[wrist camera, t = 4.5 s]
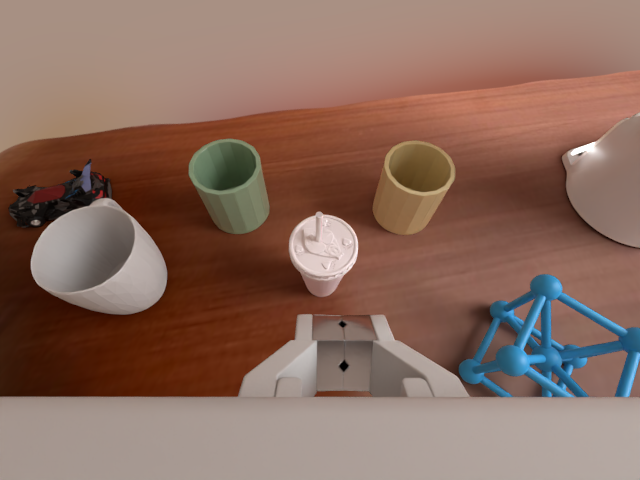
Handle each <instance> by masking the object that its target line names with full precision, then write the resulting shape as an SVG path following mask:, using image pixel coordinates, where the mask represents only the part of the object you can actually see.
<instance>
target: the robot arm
mask: <svg viewBox="0 0 640 480" xmlns="http://www.w3.org/2000/svg"><path fill="white" fill-rule="evenodd" d="M562 161H563V164H564V166H565V169H566V171H567V179H566V190H567V194H568V197H569V199H570V202H571V203H572V205H573V207H574V208H575V210H576V211H577V212H578V214H579V215H580V216H581V217H582V218H583V219H584V220H585V221H586V222H587V223H588V224H589V225H590V226H592V227H593V228H594V229H596V230H597V231H598V232H600V233H602V234H603V235H605V236H607V237H609V238H611V239H613V240H615V241H617V242H620V243H622V244H626V245H629V246H633V247H639V248H640V113H637V114H635V115H634V116H632V117H631V118H625V119H623V120H621V121H619V122H618V123H617V124H615V125H614V126H613V127H612V128H611V129H610V130H609V131H608V132H606V133H605V134H604V135H603V136H602V137H601V138H600V139H599V140H597V141H596V142H593V143H590V144H587V145H584V146H581V147H578V148H574V149H571V150H569V151H567V152H566V153H565V154H564V155H563V156H562ZM342 390H343V391H370V393H371V395H372V396H373V397H314V395H315V394H316V391H342ZM0 480H640V397H470V396H469V395H468V393H467V391H466V390H465V388H464V386H463V385H462V383H461V381H460V380H459V378H458V377H457V376H456V375H454V374H452V373H451V372H449V371H447V370H446V369H444V368H443V367H441V366H439V365H438V364H436V363H435V362H433V361H431V360H430V359H428V358H426V357H425V356H423V355H422V354H420V353H418V352H417V351H415V350H413V349H412V348H410V347H409V346H407V345H405V344H404V343H402V342H400V341H395V339H394V337H393V335H392V332H391V330H390V327H389V325H388V322H387V320H386V317H385V316H384V315H313V322H312V314H304V315H298V316H297V322H296V332H295V340H290V341H289V342H288V343H287V344H285V345H284V346H283V347H281V348H280V349H279V350H277V351H276V352H275V353H274V354H272V355H271V356H270V357H268V358H267V359H266V360H265V361H263V362H262V363H261V364H259V365H258V366H257V367H255V368H254V369H253V370H252V371H250V372H249V373H248V374H246V375H245V376H244V379H243V382H242V385H241V388H240V392H239V395H238V397H0Z"/></svg>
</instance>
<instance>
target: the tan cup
mask: <svg viewBox="0 0 640 480" xmlns="http://www.w3.org/2000/svg"><path fill="white" fill-rule="evenodd" d="M454 180H455V166H454V164H453V162H452V160H451V158H450V156H449V155H447V154H446V153H445V152H444V151H443V150H442V149H441V148H439V147H437V146H435V145H433V144H431V143H428V142H423V141H417V140H414V141H406V142H402V143H400V144H398V145H396V146H394V147H392V148H391V150H390V151H389V152H388V153H387V154H386V156H385V160H384V163H383V167H382V171H381V174H380V178H379V182H378V185H377V189H376V192H375V196H374V201H373V206H372V209H373V214H374V217H375V219H376V220H377V222H378V223H379V224H380V225H381V226H382V227H383V228H385V229H386V230H388V231H390V232H392V233H395V234H399V235H411V234H415V233H418V232H420V231H421V230H423V229H424V228H425V227H426V226H427V224H428V223H429V221H430V220H431V218H432V216H433V215H434V213H435V211H436V210H437V208H438V206H439V205H440V203H441V201H442V200H443V198H444V196H445V195H446V193H447V191H448V190H449V188H450V186H451V185H452V183H453V181H454Z"/></svg>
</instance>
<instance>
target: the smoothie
mask: <svg viewBox="0 0 640 480" xmlns="http://www.w3.org/2000/svg"><path fill="white" fill-rule="evenodd" d="M289 254H290V259H291V261H292V263H293V265H294V266H295V268H296V269H297V270H298V271H299V272H300V273H301V275H302V278H303V280H304V282H305V284H306V287H307V289H308V290H309V291H310V293H312V294H313V295H315V296H318V297H325V296H328V295H330V294H332V293H333V292H334V291H335V289H336V287H337V286H338V284H339V282H340V281H341V279H342V277H343V275H344V274H346V273H347V272H348V271H349V270H350V269H351V268H352V266H353V265H354V263H355V261H356V258H357V254H358V240H357V237H356V234H355V232H354V231H353V229H352V228H351V227H350V226H349V225H348V224H347V223H346V222H345V221H343V220H342V219H340V218H337V217H335V216H331V215H323V213H322V212H317V213H316V215H315V216H312V217H309V218H307V219H305V220H303V221H302V222H300V223H299V224H298V225H297V226H296V227H295V228H294V230H293V232H292V234H291V236H290V240H289Z"/></svg>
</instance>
